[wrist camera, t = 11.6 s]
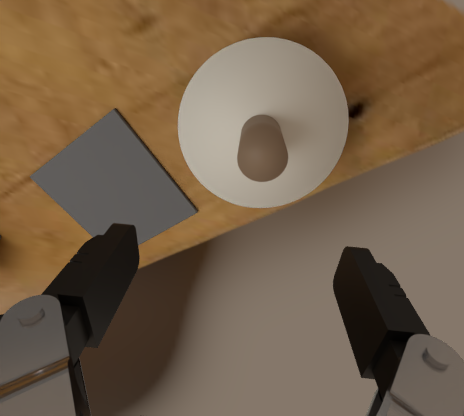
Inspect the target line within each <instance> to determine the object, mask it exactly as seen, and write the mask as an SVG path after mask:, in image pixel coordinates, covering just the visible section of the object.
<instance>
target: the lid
mask: <svg viewBox="0 0 464 416" xmlns="http://www.w3.org/2000/svg"><path fill="white" fill-rule="evenodd" d="M348 123H349V118H348V107H347V101H346V97H345V94H344V91H343V88H342V86H341V84H340V82H339V80H338V78H337V76H336V75H335V73H334V72H333V70H332V69H331V68H330V66H329V65H328V64H327V63H326V62H325V61H324V60H323V59H322V58H321V57H320V56H318V55H317V54H316V53H314V52H313V51H312V50H310V49H308V48H306V47H304V46H302V45H301V44H298V43H295V42H293V41H290V40H286V39H280V38H275V37H259V38H251V39H246V40H243V41H239V42H236V43H234V44H232V45H229V46H227V47H225V48H223V49H222V50H220V51H219V52H217V53H216V54H214V55H213V56H212V57H210V58H209V59H208V60H207V61H206V62H205V63H204V64H203V65H202V66H201V67H200V68H199V69H198V70H197V72H196V73H195V74H194V76H193V77H192V79H191V81H190V82H189V84H188V86H187V88H186V90H185V92H184V95H183V98H182V101H181V104H180V109H179V115H178V136H179V142H180V146H181V150H182V153H183V156H184V158H185V160H186V162H187V165H188V167H189V168H190V170H191V171H192V173H193V174H194V176H195V177H196V178H197V179H198V180H199V182H200V183H201V184H202V185H203V186H205V187H206V188H207V189H208V190H209V191H211V192H212V193H213V194H215V195H216V196H218V197H220V198H222V199H223V200H226V201H228V202H230V203H233V204H236V205H240V206H245V207H251V208H270V207H276V206H281V205H284V204H288V203H290V202H293V201H295V200H298V199H300V198H301V197H303V196H305V195H307V194H308V193H310V192H311V191H312V190H314V189H315V188H316V187H317V186H319V185H320V184H321V183H322V182H323V181H324V180H325V179H326V178H327V176H328V175H329V174H330V173H331V171H332V170H333V168H334V167H335V165H336V164H337V162H338V160H339V158H340V156H341V154H342V151H343V148H344V146H345V142H346V138H347V133H348Z"/></svg>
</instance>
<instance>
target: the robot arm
mask: <svg viewBox="0 0 464 416" xmlns="http://www.w3.org/2000/svg"><path fill="white" fill-rule="evenodd" d="M138 265H139V249H138V241H137V233H136V227H135V226H134V225H130V224H120V223H113V224H112V225H111V226H110V227H109V228H108V230H107V231H106V232H105V234H104V235H96V236H95V237H93V238H92V239H90V240H88V241H87V242H85V243H84V245H83V246H82V247H81V248H80V249H79V250H78V252H77V254H75V255H74V256H73V258H72V259H71V260H70V263H68V264H67V265H66V266H65V267H64V268H63V269H62V271H61V272H60V273H59V274H58V275H57V277H56V278H55V279H54V280H53V281H52V282H51V284H50V285H49V286H48V287H47V288H46V290H45V291H44V292H43V293H42V294H41V295H37V296H32V297H29V298H26V299H24V300H22V301H20V302H18V303H17V304H15V305H14V306H12V307H11V308H10V309H9V310H8V311H7V312H6V313H5V314H3V315H0V416H91V412H90V408H89V402H88V397H87V392H86V388H85V383H84V378H83V373H82V368H81V363H80V359H79V356H80V354H81V353H82V351H83V349H84V347H94V348H98V346H99V344H100V342H101V340H102V338H103V336H104V334H105V332H106V330H107V328H108V326H109V325H110V323H111V320H112V319H113V317H114V315H115V313H116V311H117V309H118V307H119V305H120V303H121V301H122V299H123V297H124V295H125V293H126V291H127V289H128V287H129V285H130V283H131V281H132V279H133V278H134V276H135V274H136V272H137V269H138ZM333 289H334V294H335V297H336V300H337V303H338V306H339V310H340V313H341V316H342V319H343V322H344V325H345V328H346V331H347V334H348V338H349V341H350V344H351V347H352V350H353V353H354V356H355V359H356V362H357V366H358V368H359V372H360V375H361V378H369V379H375V380H376V383H377V386H378V389H377V390H376V392H375V394H374V396H373V399H372V401H371V404H370V407H369V409H368V412H367V414H366V416H464V361H463V359H462V358H461V357H460V356H459V355H458V353H457V352H456V351H455V350H454V349H452V348H451V347H450V346H449V345H447V344H446V343H444V342H443V341H441V340H439V339H437V338H435V337H432V336H430V334H429V332H428V331H427V329H426V327H425V326H424V324H423V322H422V321H421V319H420V317H419V316H418V314H417V313H416V311H415V309H414V307H413V306H412V304H411V302H410V301H409V299H408V298H406V294H405V292H404V291H403V289H402V288H400V284H399V283H398V281H397V279H396V278H395V276H394V274H393V273H392V272H390V271H389V270H388V269H387V268H386V267H385V266H384V265H383V264H382V263H376V261H375V260H374V258H373V256H372V254H371V252H370V251H369V249H367V248H357V247H348V246H347V247H345V248H344V250H343V252H342V255H341V258H340V261H339V264H338V267H337V270H336V272H335V275H334V280H333Z"/></svg>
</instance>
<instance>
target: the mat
mask: <svg viewBox="0 0 464 416" xmlns="http://www.w3.org/2000/svg"><path fill="white" fill-rule="evenodd" d="M30 178H31V179H32V180H33V181H35V182H36V183H37V184H38V185H39V186H40V187H41V188H42V189H43V190H44V191H45V192H46V193H47V194H48V195H49V196H50V197H51V198H52V199H53V200H55V201H56V202H57V203H58V204H59V205H60V206H61V207H62V208H63V209H64V210H65V211H66V212H67V213H68V214H69V215H70V216H71V217H72V218H73V219H74V220H76V221H77V222H78V223H79V224H80V225H81V226H82V227H83V228H84V229H85V230H86V231H87V232H88V233H89V234H90V235H91V236H92V237H95V236H96V235H104V234H105V232H106V231H107V230H108V228H109V227H110V226H111V225H112V224H113V223H120V224H130V225H134V226H135V227H136V233H137V241H138V245H140V244H141V243H143V242H145V241H147V240H149V239H150V238H152V237H154V236H156V235H158V234H159V233H161V232H163V231H165V230H167V229H168V228H170V227H172V226H174V225H176V224H177V223H179V222H181V221H183V220H185V219H186V218H188V217H190V216H192V215H194V214H195V213H197V212H198V210H197V209H196V208H195V207H194V205H193V204H192V203H191V202H190V200H189V199H188V198H187V197H186V195H185V194H184V193H183V192H182V190H181V189H180V188H179V187H178V185H177V184H176V183H175V182H174V180H173V179H172V178H171V177H170V175H169V174H168V173H167V172H166V171H165V169H164V168H163V167H162V166H161V164H160V163H159V162H158V161H157V159H156V158H155V157H154V156H153V154H152V153H151V152H150V151H149V149H148V148H147V147H146V146H145V144H144V143H143V142H142V141H141V139H140V138H139V137H138V136H137V135H136V133H135V132H134V131H133V130H132V128H131V127H130V126H129V125H128V123H127V122H126V121H125V120H124V118H123V117H122V116H121V115H120V113H119V112H118V111H117V110H116V108H115V109H113V110H112V111H111V112H109V113H108V114H107V115H106V116H104V117H103V118H102V119H101V120H99V121H98V122H97V123H96V124H94V125H93V126H92V127H91V128H89V129H88V130H87V131H86V132H85V133H83V134H82V135H81V136H80V137H78V138H77V139H76V140H75V141H73V142H72V143H71V144H70V145H68V146H67V147H66V148H65V149H63V150H62V151H61V152H60V153H58V154H57V155H56V156H55V157H54V158H52V159H51V160H50V161H49V162H47V163H46V164H45V165H44V166H42V167H41V168H40V169H39V170H37V171H36V172H35V173H34V174H32V175H31V176H30Z"/></svg>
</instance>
